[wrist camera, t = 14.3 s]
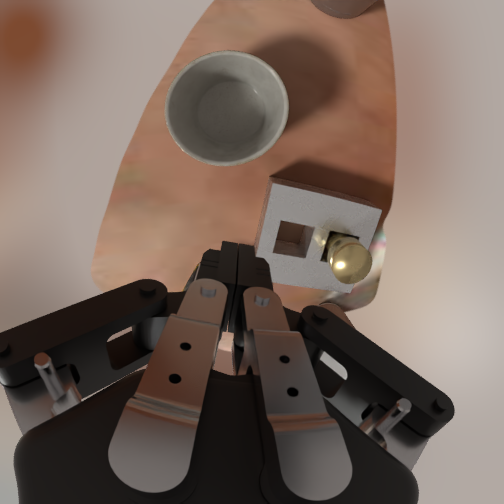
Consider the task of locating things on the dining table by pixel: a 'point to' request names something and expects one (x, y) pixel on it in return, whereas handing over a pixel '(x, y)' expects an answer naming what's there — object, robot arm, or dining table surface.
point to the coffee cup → (325, 357)
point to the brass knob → (347, 258)
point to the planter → (226, 108)
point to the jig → (310, 231)
